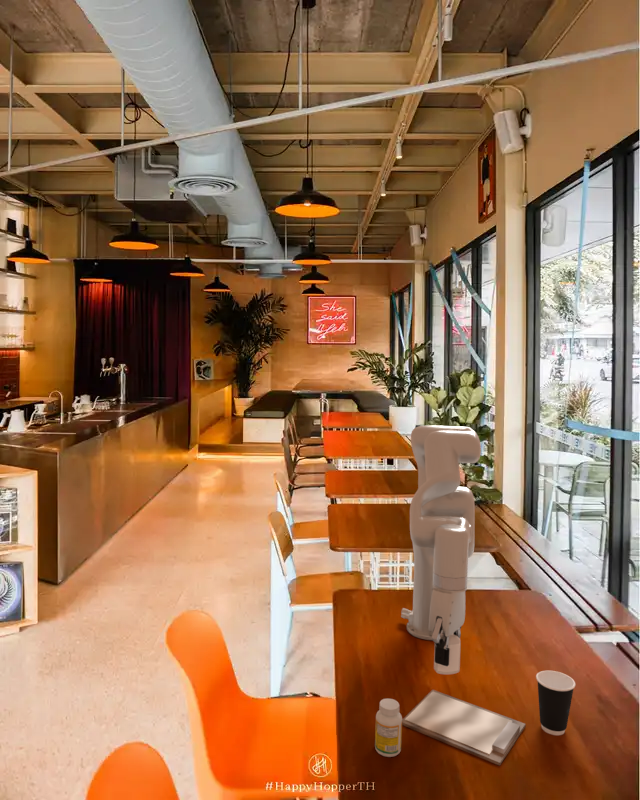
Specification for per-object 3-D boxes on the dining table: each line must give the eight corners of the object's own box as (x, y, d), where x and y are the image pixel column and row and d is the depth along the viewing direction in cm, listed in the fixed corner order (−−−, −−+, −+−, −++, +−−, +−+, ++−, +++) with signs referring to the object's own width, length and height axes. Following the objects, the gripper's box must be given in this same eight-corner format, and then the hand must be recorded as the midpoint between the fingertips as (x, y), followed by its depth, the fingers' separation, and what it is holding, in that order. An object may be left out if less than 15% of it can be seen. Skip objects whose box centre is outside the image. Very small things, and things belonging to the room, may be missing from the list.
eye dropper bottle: (457, 678, 136) (459, 625, 135) (432, 672, 138) (434, 620, 137) (460, 669, 140) (462, 617, 139) (436, 664, 142) (437, 613, 141)
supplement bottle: (391, 761, 121) (393, 715, 120) (369, 749, 124) (370, 704, 124) (406, 748, 125) (407, 703, 124) (384, 737, 128) (385, 693, 128)
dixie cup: (580, 737, 130) (583, 687, 129) (547, 742, 128) (550, 691, 127) (558, 715, 138) (560, 668, 137) (526, 719, 136) (528, 672, 135)
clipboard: (400, 724, 133) (400, 717, 133) (432, 691, 146) (432, 685, 146) (499, 765, 120) (500, 757, 120) (525, 726, 133) (525, 719, 133)
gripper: (450, 567, 147) (447, 641, 148) (417, 587, 133) (414, 668, 134) (480, 574, 142) (477, 650, 143) (449, 595, 128) (446, 680, 130)
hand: (447, 658), depth 139 cm, fingers closed on eye dropper bottle, 4 cm apart
